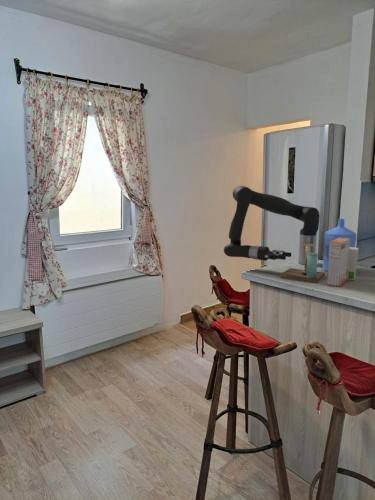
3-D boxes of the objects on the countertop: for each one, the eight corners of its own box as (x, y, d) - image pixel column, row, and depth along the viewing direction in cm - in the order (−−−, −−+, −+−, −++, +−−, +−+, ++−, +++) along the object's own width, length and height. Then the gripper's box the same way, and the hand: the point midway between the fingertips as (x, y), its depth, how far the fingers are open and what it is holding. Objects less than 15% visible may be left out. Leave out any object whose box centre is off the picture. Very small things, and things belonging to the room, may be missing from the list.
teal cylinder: (307, 275, 178) (309, 252, 176) (317, 276, 176) (318, 253, 174) (305, 277, 174) (306, 254, 172) (314, 278, 172) (316, 255, 170)
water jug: (347, 267, 202) (351, 217, 197) (357, 274, 187) (362, 220, 182) (319, 267, 204) (322, 217, 199) (326, 273, 189) (330, 220, 184)
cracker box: (335, 278, 180) (338, 237, 176) (348, 280, 176) (351, 238, 172) (326, 284, 169) (329, 240, 165) (339, 287, 165) (342, 242, 161)
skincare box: (336, 278, 179) (339, 247, 176) (338, 275, 185) (340, 245, 182) (355, 280, 176) (358, 249, 173) (356, 277, 181) (358, 247, 178)
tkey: (312, 269, 187) (313, 243, 184) (311, 274, 177) (313, 246, 175) (302, 269, 189) (303, 242, 186) (300, 273, 179) (302, 246, 177)
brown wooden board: (289, 271, 194) (290, 268, 193) (324, 276, 184) (324, 272, 183) (280, 278, 181) (280, 273, 181) (317, 283, 171) (317, 278, 171)
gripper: (254, 248, 189) (284, 251, 180) (264, 244, 201) (293, 247, 192) (253, 262, 191) (283, 265, 182) (264, 257, 202) (292, 260, 193)
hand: (288, 256), depth 187 cm, fingers open, 8 cm apart
